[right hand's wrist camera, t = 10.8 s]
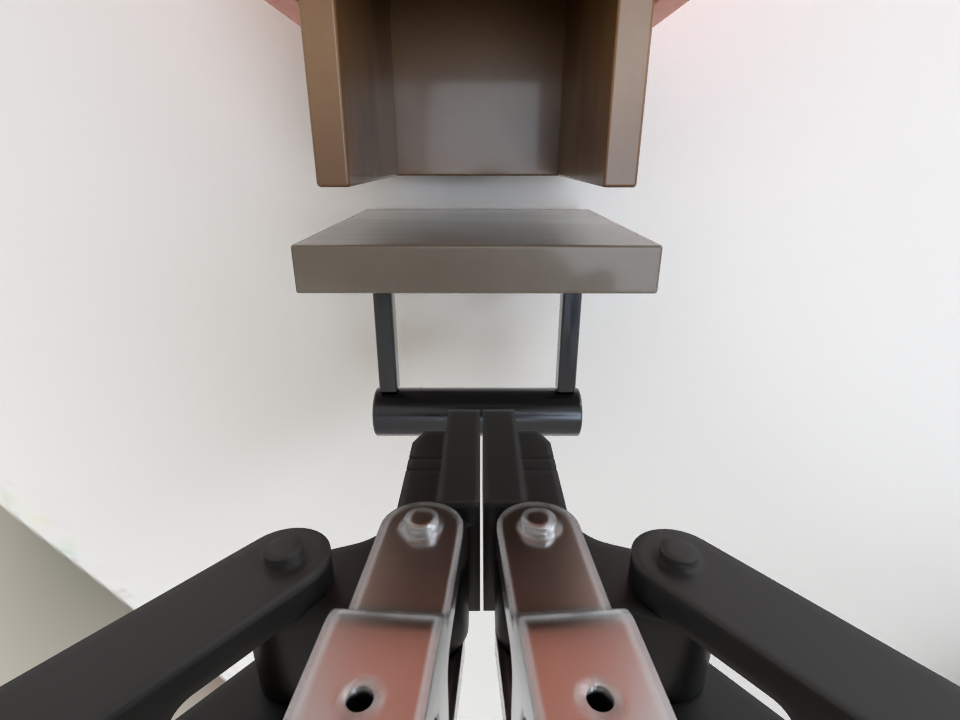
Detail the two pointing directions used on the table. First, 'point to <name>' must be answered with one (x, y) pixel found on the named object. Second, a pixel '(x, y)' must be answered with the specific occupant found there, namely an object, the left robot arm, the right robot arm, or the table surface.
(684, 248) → the table surface
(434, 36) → the drawer
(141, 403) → the table surface
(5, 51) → the table surface
